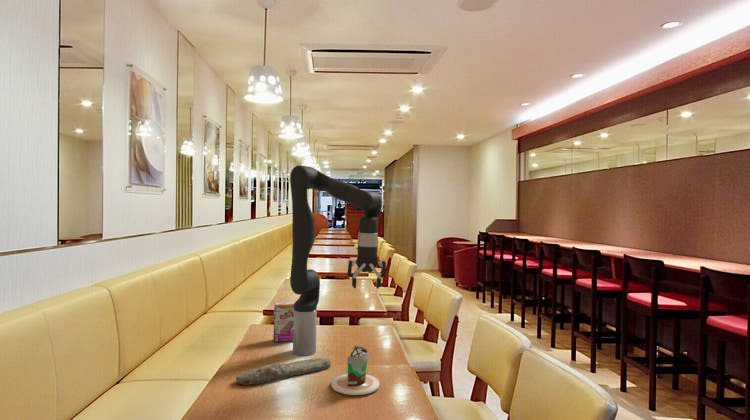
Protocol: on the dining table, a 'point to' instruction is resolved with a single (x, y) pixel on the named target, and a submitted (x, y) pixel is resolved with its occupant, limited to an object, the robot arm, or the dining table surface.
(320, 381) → the dining table surface
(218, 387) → the dining table surface
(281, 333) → the candy bar box
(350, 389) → the dish
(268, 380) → the elongated rock
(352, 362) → the food container
